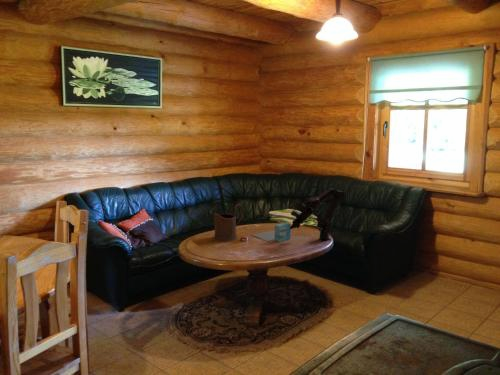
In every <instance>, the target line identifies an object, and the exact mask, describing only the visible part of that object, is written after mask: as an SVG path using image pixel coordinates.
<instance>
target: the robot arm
mask: <svg viewBox="0 0 500 375" xmlns="http://www.w3.org/2000/svg"><path fill="white" fill-rule="evenodd" d="M330 197H332V198H331V203H330V204H329V206H328V208H327V210H326V211H325V213H324V216H323V217H322V218H321V217H319V219H318V221H317V222H316V223H317V224H316V226H317V230H318V231H319V237H318V240H320V241H323V242H327V241H331V238H330V233H332V230H333V229H332V228H331V227H330V225H331V224H330V223H331V218H332V217H333V215H334V213H335V211H336V209H337V207H338V205H339V204H340V203H341V202H343V200H344V199H345V197H346V193H345V192H344V191H342V190H338V189H337V190H336V189H334V188H328V189H327V190H326V191H324V192H322V193H321V194H319V195H318V196H315V197H313V198H312V197H311V198H310V199H308V200H306V202H304V201H302V200H300V201H299V202H298V203H297V204H296V206H295V209H292V210H291V213H290V215H291V216H293V217H295V218H294V219H293V220H292V222H291V223H292V224H291V225H290V230H292V229H299V228H301V225H302V224H303V223H304V222H305V221H307V220H308V219H309V217H311V216H312V215H314V216H316V210H315V209H317V208H318V207H319V206H320V205H321V203H323V202H324V201H325V200H327V199H328V198H330Z"/></svg>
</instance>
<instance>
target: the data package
mask: <svg viewBox="0 0 500 375" xmlns="http://www.w3.org/2000/svg"><path fill="white" fill-rule="evenodd" d="M290 227H291V224H290V223H287V222H283V223H282V222H281V223H278V224H276V225H274V230H275V240H274V241H275V242H279V243H281V242H285V241H289V240H290V239H291V237H290V236H291V229H290Z"/></svg>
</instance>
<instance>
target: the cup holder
mask: <svg viewBox="0 0 500 375" xmlns="http://www.w3.org/2000/svg"><path fill="white" fill-rule="evenodd" d="M238 206H241V216H240V218H239V219H238V220H237V219H236V218H237V217H236V216H237V207H238ZM213 215H214V216H213V218H214V235H213V238H212V239H213V241H215V242H217V241H218V242H217V243H232V242H236V241H237V240H238V239H239V238H238V236H237V226H238V225H239V224H240V222H241V220H242V219H243V217H244V205H243V204H241V203H237V204H236V205H235V206H234V214H230V213H216V212H214V213H213ZM236 220H237V222H236Z"/></svg>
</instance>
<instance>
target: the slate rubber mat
mask: <svg viewBox="0 0 500 375" xmlns="http://www.w3.org/2000/svg"><path fill="white" fill-rule="evenodd" d="M251 236H253V237H255V238H257V239H261V240H263V241H265V242H272V241H275V229H274V230H268V231H264V232H258V233H254V234H251ZM290 238H291V235H290Z"/></svg>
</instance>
